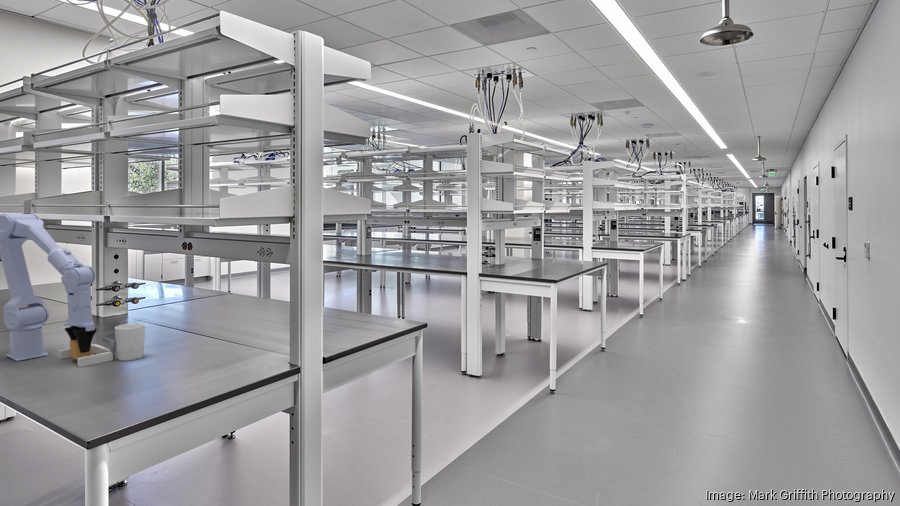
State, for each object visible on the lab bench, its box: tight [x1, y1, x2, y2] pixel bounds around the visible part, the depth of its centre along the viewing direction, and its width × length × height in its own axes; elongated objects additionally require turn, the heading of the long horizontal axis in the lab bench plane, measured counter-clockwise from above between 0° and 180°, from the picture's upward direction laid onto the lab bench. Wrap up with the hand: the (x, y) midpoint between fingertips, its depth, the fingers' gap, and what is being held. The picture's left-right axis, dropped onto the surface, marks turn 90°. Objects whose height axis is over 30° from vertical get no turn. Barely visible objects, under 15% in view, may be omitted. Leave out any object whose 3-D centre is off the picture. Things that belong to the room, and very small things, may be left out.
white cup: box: [114, 322, 146, 362], centre depth 155 cm, size 8×8×10 cm
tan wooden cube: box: [69, 339, 92, 360], centre depth 152 cm, size 4×4×5 cm
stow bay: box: [58, 336, 117, 368], centre depth 153 cm, size 14×10×6 cm
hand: (81, 350), depth 152 cm, fingers closed on tan wooden cube, 4 cm apart
